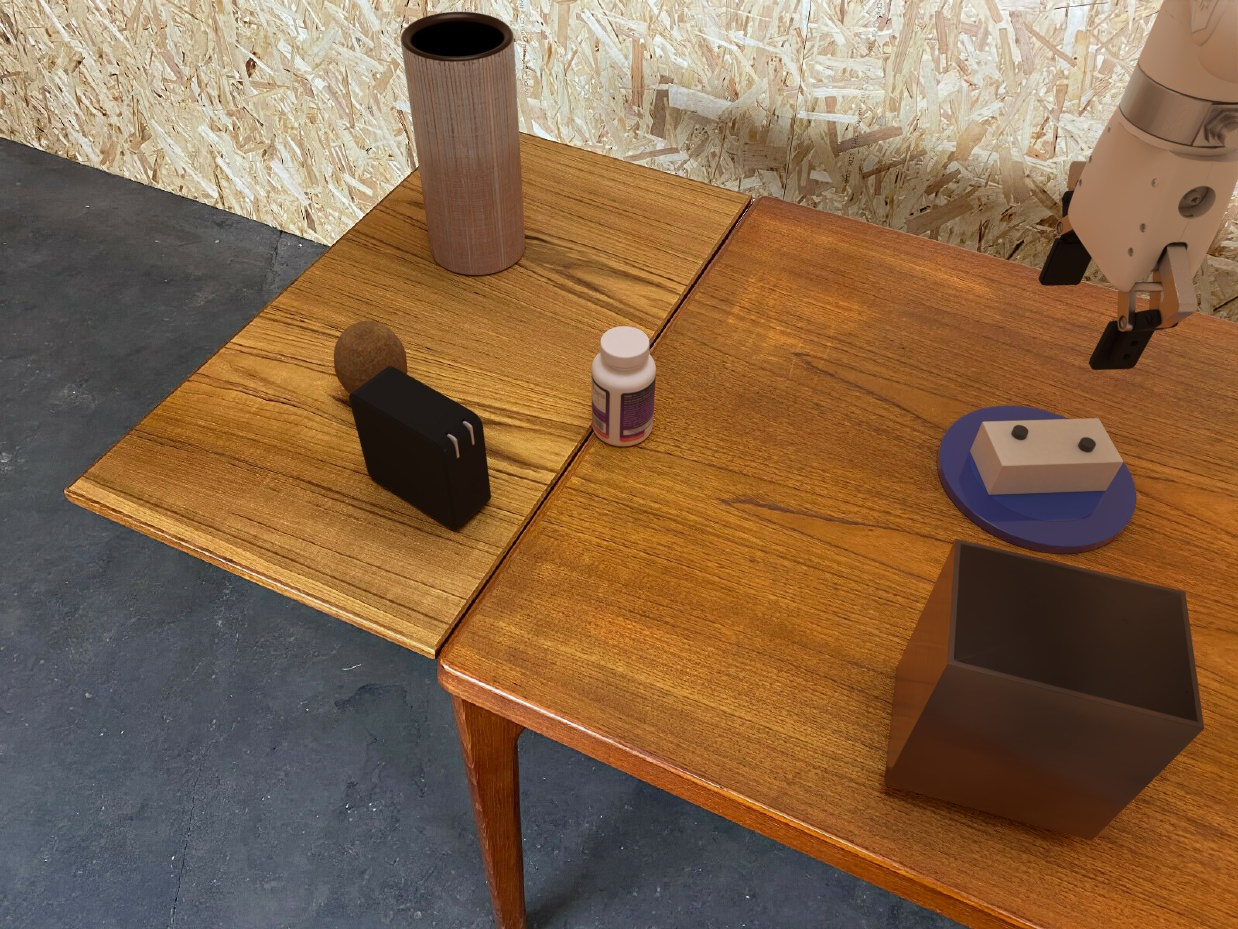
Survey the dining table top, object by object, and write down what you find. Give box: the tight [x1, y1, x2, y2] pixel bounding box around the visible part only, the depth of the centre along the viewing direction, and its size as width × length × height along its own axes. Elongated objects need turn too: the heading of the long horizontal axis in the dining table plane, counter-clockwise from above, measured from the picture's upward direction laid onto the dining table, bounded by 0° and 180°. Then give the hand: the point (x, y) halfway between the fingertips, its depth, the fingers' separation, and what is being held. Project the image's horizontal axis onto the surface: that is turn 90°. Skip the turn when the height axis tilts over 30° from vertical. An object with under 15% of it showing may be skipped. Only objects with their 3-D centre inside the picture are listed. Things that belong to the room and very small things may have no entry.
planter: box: [400, 11, 526, 276], centre depth 93 cm, size 10×10×23 cm
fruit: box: [333, 320, 408, 395], centre depth 83 cm, size 6×6×8 cm
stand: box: [883, 538, 1205, 842], centre depth 59 cm, size 13×9×15 cm
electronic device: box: [348, 366, 492, 532], centre depth 75 cm, size 4×10×10 cm, turn 54°
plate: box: [936, 404, 1137, 555], centre depth 81 cm, size 16×16×1 cm
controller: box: [970, 417, 1124, 495], centre depth 79 cm, size 10×5×4 cm, turn 94°
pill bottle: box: [590, 325, 657, 447], centre depth 81 cm, size 5×5×10 cm
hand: (1082, 323), depth 71 cm, fingers open, 9 cm apart
